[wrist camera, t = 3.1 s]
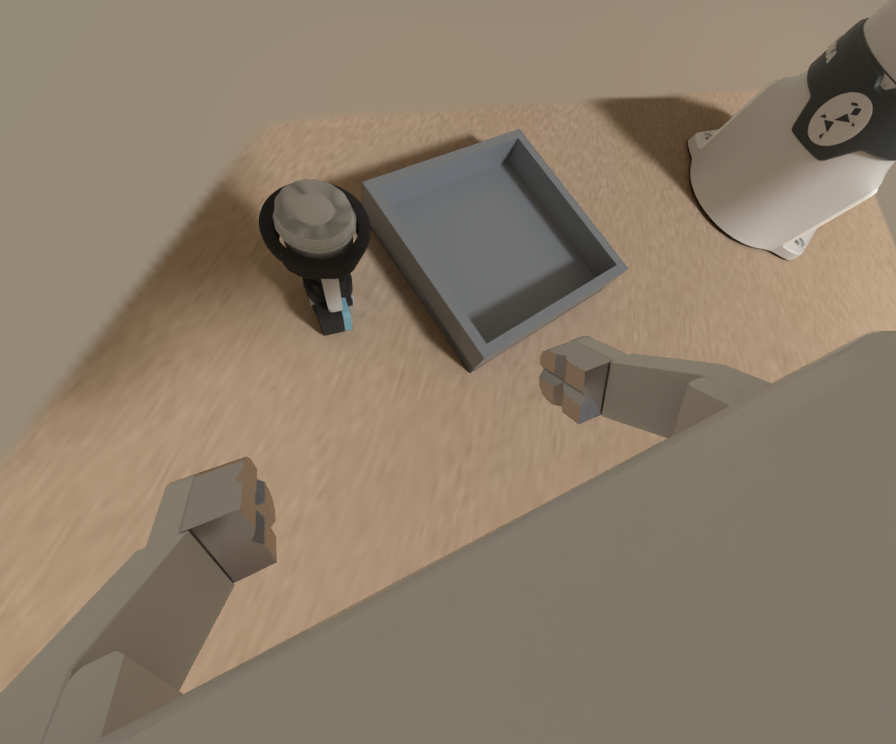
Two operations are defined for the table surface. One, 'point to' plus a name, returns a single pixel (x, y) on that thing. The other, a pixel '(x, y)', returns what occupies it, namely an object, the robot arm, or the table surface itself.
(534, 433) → the table surface
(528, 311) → the dock tray
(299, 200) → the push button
